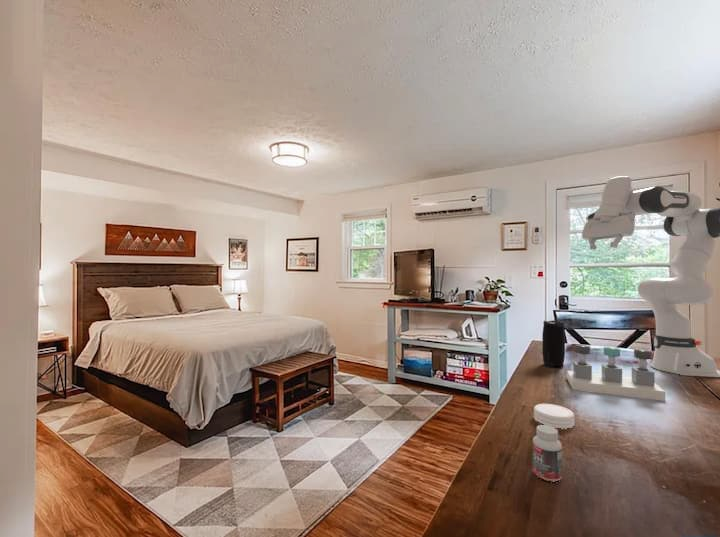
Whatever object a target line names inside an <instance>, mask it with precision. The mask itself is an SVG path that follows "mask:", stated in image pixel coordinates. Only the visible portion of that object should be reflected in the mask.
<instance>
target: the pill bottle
mask: <svg viewBox="0 0 720 537" xmlns="http://www.w3.org/2000/svg"><path fill="white" fill-rule="evenodd" d="M533 471H534V472H535V473H536V474H537V475H539V476H541V477H542V478H545V479H548V480H553V481H555V480H556V481H557V480H560V479H561V478H562V479H563V476H562V475H563V445H562V442H561V441H560V440H559V429H555V428H554V427H551V426H547V425H542V424H539V425H537V426H536V435H535V436H533V438H532V472H533ZM562 479H561V480H562Z"/></svg>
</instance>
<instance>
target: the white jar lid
mask: <svg viewBox="0 0 720 537" xmlns="http://www.w3.org/2000/svg"><path fill="white" fill-rule="evenodd" d="M533 419H534V420H535V422H537V421H538V422H540V423H542V424H544V425H547V426H551V427H554V428H561V429H560V430H568V429H567V428H570V429H572V428H574V427H573V426H575V413H574V412H573V410H570V409H569V408H566V407H564V406H562V405H557V404H553V403H552V404H551V403H538V404H536V405H534V407H533ZM538 422H537V423H538ZM540 423H539V424H540ZM542 424H541V425H542ZM563 428H564V429H563Z"/></svg>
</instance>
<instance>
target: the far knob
mask: <svg viewBox="0 0 720 537" xmlns="http://www.w3.org/2000/svg"><path fill="white" fill-rule="evenodd" d="M574 352H575V353H576V354H578V356H579V357H578V358H579V359H578V362H579V363H581V364H586V363H587V362H586V361H587V360H586V356H587V355H590V354H591V346H590V345H586V344H575V345H574Z"/></svg>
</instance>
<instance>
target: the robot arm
mask: <svg viewBox="0 0 720 537" xmlns="http://www.w3.org/2000/svg"><path fill="white" fill-rule="evenodd" d="M702 202H703V201H702V198H701V197H700V196H699V195H698V194H696V193H694V192H692V191H691V192H690V191H684V190H669V189H667V188H665V187H664V186H660V185H656V186H653V187H648V188H644V189H639V190H634V188H633V187H632V178H631V177H630V176H624V175H619V176H614V177H611V178H610V179H609V178H608V180H607V182H606V183H605V186H604V188H603V191H602V195H601V203H600V204H599V208H598V209H596V210H595V211H594V212H592V213H590V214H589V215H587V216H586V218H585V219H586V223H585V224H584V226H583V230H582V233H581V237H582V239H583V240H586V241H587V242H588V243H589V250H590V251H595V250H597V245H596V242H597V241H600V240H607V239H614V240H613V241H612V242H610V248H612V249H617V248H618V246H619V244H620V242H621V241H622V240H623V238H624V237H631V236H632V235H633V234H634V232H635V225H636V224H635V223H636V222H635V221H636V216H640V215H641V216H642V215H647V214H648V215H649V214H657V215H659V216H661V217H665V218H664V220H663V229H664V231H665V232H666V234H667V235H669V236H673V237H681V236H684V237H686V239H685V241H684V242H683V243H682V244H681V245H680V247H679V248H678V249H677V252H676V253H675V255H674V257H673V258H672V260H671V261H670V263H669V268H670V271H671V272H672V274H674V275H676V276H675V277H649V278H645V279H643V280H641V281H640V283H639V284H638V286H637V292H638V295H639V297H640V298H641V299H642V300H644V301H645V302H646V303H647V304H648V305H649V307H650V309H651V310H652V312H653V314H654V319H655V320H654V321H655V334H654V338H653V344H654V345H653V346H654V352H653V357H652V362H651V364H650V367H651V368H652V369H653V368H654V369H656V370H659V371H663V372H668V373H670V374H671V373H672V374H675V375H679V374H680V376H691V377H709V378H720V370H718V369H717V364H716V361H715V360H714V358H713V357H711V356H710V355H708V354H707V353H706V352H704V351H703V350H701V349H700V348H698V347H697V346H701V345H702V341H701V340H700V339H695V338H693V337H691V324H692V323H691V319H690V318H689V317H688V316H687V314H684V313H682V312H681V311H679V309H678V308H677V305H683V306H684V305H685V306H695V305H696V306H697V305H699V306H700V305H706V304H708V303H709V302H710V301H711V300H712V298H713V297H714V288H713V287H712V285H711V284H710V283H709V282H708V281H707V280H706V279H704V272H705V270H706V268H707V265H708V264H709V262H710V260H711V259H712V256H713V255H714V251H715V247H716V241H715V239H717V238H719V237H720V207H711V208H701V207H702V204H703V203H702Z"/></svg>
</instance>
